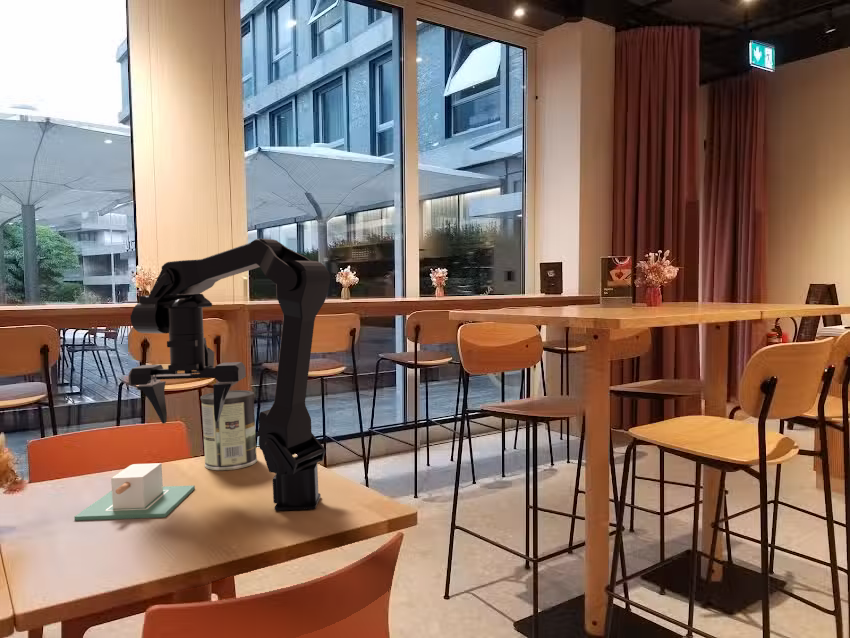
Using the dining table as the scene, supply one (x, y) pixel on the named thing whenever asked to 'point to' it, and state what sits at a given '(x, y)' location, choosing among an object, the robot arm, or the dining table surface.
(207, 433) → the coffee can
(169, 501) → the pin board
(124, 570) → the dining table surface
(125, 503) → the block
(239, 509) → the dining table surface
